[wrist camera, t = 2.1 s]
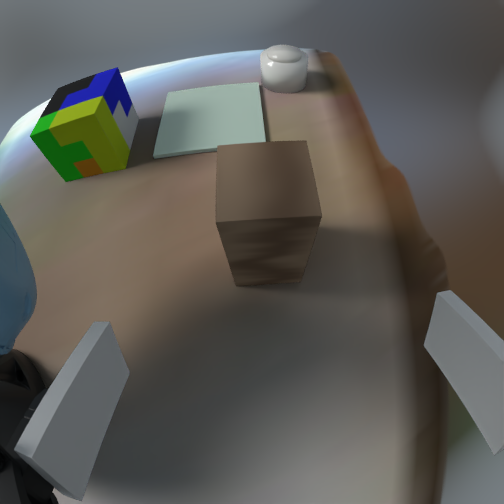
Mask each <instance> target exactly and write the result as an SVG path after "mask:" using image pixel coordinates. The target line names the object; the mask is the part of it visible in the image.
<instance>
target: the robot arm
mask: <svg viewBox="0 0 504 504" xmlns="http://www.w3.org/2000/svg"><path fill="white" fill-rule="evenodd" d="M36 299H37V289H36V282H35V277H34V273H33V270H32V266H31V264H30V261H29V258H28V256H27V253H26V251H25V249H24V247H23V245H22V242H21V240H20V238H19V236H18V234H17V232H16V230H15V229H14V227H13V225H12V223H11V221H10V219H9V218H8V216H7V214H6V212H5V211H4V209H3V207H2V206H1V204H0V504H59V503H58V501H57V498H56V497H55V495H54V493H52V491H53V489H54V488H56V489H57V490H58V491H59V492H61V493H62V494H63V495H65V496H68V497H71V498H73V499H76V500H79V501H82V499H83V496H84V493H85V490H86V487H87V484H88V481H89V478H90V475H91V472H92V469H93V466H94V463H95V460H96V458H97V455H98V452H99V449H100V447H101V444H102V441H103V439H104V436H105V433H106V431H107V428H108V426H109V423H110V420H111V418H112V415H113V413H114V410H115V408H116V405H117V403H118V400H119V398H120V396H121V393H122V391H123V388H124V386H125V384H126V381H127V379H128V377H129V374H130V372H129V369H128V367H127V365H126V362H125V360H124V357H123V355H122V353H121V350H120V348H119V345H118V343H117V340H116V337H115V335H114V332H113V330H112V327H111V324H110V322H94V323H93V324H92V325H91V327H90V328H89V329H88V331H87V332H86V334H85V335H84V337H83V338H82V339H81V341H80V342H79V344H78V345H77V347H76V348H75V349H74V351H73V352H72V354H71V355H70V357H69V358H68V360H67V361H66V363H65V364H64V366H63V367H62V369H61V370H60V372H59V373H58V375H57V377H56V378H55V380H54V381H53V383H52V384H51V386H50V388H49V389H45V386H44V384H43V381H42V379H41V377H40V375H39V373H38V372H37V370H36V368H35V367H34V365H33V364H32V363H31V362H30V360H29V359H28V358H27V357H26V356H25V355H23V354H22V353H21V352H19V351H17V350H15V349H12V348H13V346H14V343H15V339H16V337H17V336H18V334H19V333H20V332H21V330H22V329H23V327H24V326H25V325H26V323H27V322H28V321H29V319H30V318H31V316H32V314H33V312H34V309H35V305H36ZM424 347H425V348H426V349H427V351H428V352H429V354H430V355H431V356H432V358H433V359H434V361H435V362H436V364H437V365H438V366H439V368H440V369H441V371H442V372H443V374H444V375H445V377H446V378H447V380H448V381H449V383H450V384H451V386H452V387H453V388H454V390H455V392H456V393H457V395H458V396H459V398H460V399H461V401H462V402H463V404H464V405H465V407H466V408H467V410H468V412H469V414H470V415H471V417H472V418H473V420H474V422H475V423H476V425H477V427H478V428H479V430H480V432H481V433H482V435H483V437H484V438H485V440H486V442H487V444H488V446H489V447H490V449H491V451H492V453H493V455H496V454H497V453H499V452H501V451H502V450H504V341H503V340H502V339H501V338H500V337H499V336H498V335H497V334H496V333H495V332H494V331H493V330H492V329H491V328H490V327H489V326H488V325H487V324H486V323H485V322H484V321H483V320H482V319H481V318H480V317H479V316H478V315H477V314H476V313H475V312H474V311H473V310H472V309H471V308H470V307H468V306H467V305H466V304H465V303H464V302H463V301H462V300H461V299H460V298H459V297H458V296H457V295H455V294H454V293H453V292H452V291H451V290H448V291H443V292H438V293H437V295H436V300H435V304H434V309H433V313H432V317H431V321H430V325H429V328H428V332H427V336H426V339H425V342H424Z"/></svg>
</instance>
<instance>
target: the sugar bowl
mask: <svg viewBox="0 0 504 504" xmlns="http://www.w3.org/2000/svg"><path fill="white" fill-rule="evenodd" d="M260 58H261V83H262V85H263V86H264V87H265V88H266V89H268V90H270V91H273V92H277V93H295V92H298V91H300V90H302V89H304V87H305V86H306V79H307V68H308V55H307V54H306V53H305V52H303V51H301V50H300V49H298V48H296V47H294V46H290V45H275V46H272V47H270V48H268V49H266V50H264V51H263V52H262V53H261V55H260Z"/></svg>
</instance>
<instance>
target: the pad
mask: <svg viewBox="0 0 504 504" xmlns="http://www.w3.org/2000/svg"><path fill="white" fill-rule="evenodd" d="M256 142H266V140H265V132H264V123H263V115H262V107H261V99H260V91H259V83H258V82H255V83H240V84H228V85H218V86H210V87H202V88H194V89H187V90H181V91H175V92H169V93H168V95H167V99H166V103H165V107H164V111H163V114H162V118H161V123H160V127H159V131H158V135H157V140H156V144H155V149H154V153H153V157H154V159H156V158H163V157H170V156H178V155H186V154H194V153H203V152H212V151H217V146H219V145H229V144H242V143H256Z"/></svg>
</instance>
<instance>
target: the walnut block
mask: <svg viewBox="0 0 504 504" xmlns="http://www.w3.org/2000/svg"><path fill="white" fill-rule="evenodd" d="M321 218H322V213H321V207H320V202H319V197H318V192H317V187H316V182H315V178H314V173H313V168H312V164H311V159H310V155H309V151H308V146H307V142H306V141H275V142H256V143H242V144H229V145H219V146H217V172H216V225H217V228H218V231H219V235H220V238H221V241H222V244H223V247H224V250H225V253H226V256H227V260H228V263H229V266H230V269H231V272H232V275H233V278H234V281H235V284H236V286H249V285H265V284H280V283H294V282H301V279H302V276H303V273H304V271H305V268H306V265H307V261H308V258H309V255H310V252H311V249H312V246H313V243H314V240H315V237H316V234H317V230H318V227H319V224H320V221H321Z"/></svg>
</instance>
